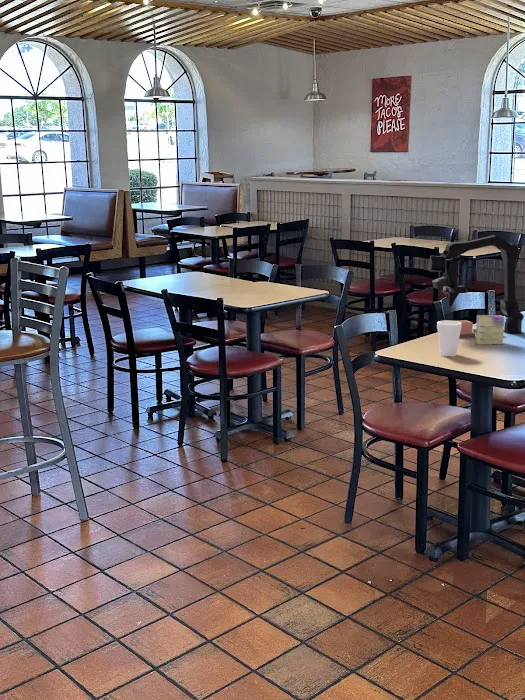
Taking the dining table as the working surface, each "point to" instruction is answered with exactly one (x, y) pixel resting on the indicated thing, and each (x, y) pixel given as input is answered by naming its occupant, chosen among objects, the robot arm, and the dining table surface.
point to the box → (489, 329)
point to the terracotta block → (466, 327)
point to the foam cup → (448, 337)
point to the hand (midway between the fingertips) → (449, 306)
